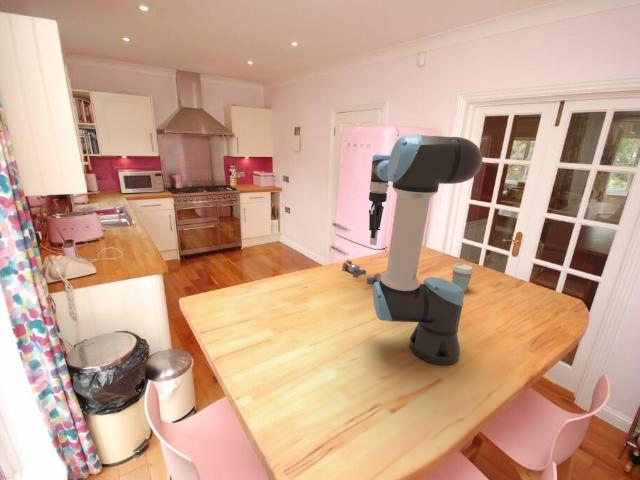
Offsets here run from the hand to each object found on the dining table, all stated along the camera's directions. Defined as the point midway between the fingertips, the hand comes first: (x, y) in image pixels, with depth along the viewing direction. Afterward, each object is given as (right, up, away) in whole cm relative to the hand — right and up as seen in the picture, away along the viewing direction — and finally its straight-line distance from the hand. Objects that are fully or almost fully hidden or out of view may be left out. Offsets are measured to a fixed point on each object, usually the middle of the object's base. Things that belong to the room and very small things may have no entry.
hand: (373, 244), depth 134 cm
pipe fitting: (-2, -17, +10) cm, 20 cm away
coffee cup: (+40, -22, +2) cm, 45 cm away
